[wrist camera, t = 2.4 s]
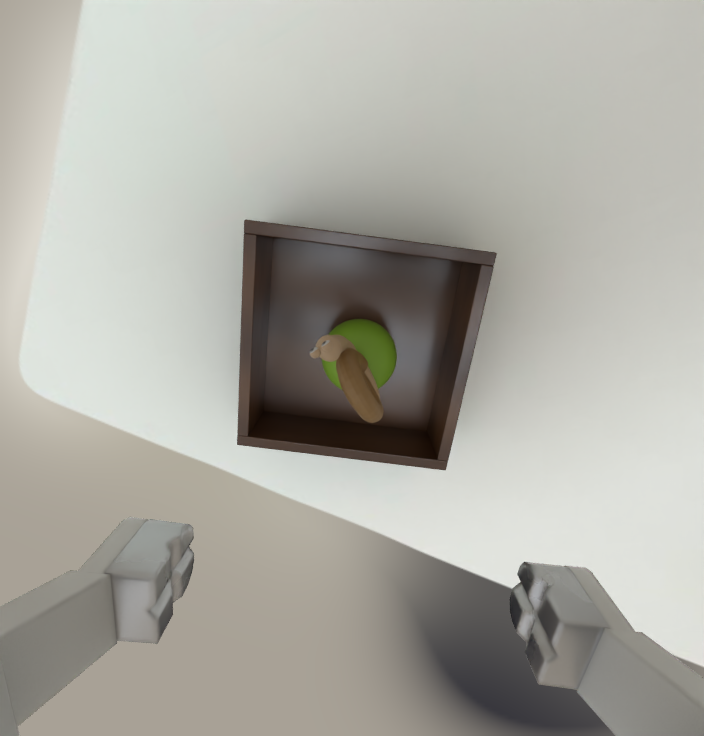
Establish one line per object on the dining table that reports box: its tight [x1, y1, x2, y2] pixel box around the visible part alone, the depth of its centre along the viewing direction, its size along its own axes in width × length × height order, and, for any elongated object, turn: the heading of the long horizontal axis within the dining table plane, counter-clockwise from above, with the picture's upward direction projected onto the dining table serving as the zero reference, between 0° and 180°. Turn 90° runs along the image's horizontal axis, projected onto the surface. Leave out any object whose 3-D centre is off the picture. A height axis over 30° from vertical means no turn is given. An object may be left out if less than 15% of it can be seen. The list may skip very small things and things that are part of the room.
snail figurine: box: [310, 319, 397, 423], centre depth 23 cm, size 5×6×12 cm
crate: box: [237, 220, 496, 470], centre depth 27 cm, size 16×16×5 cm
